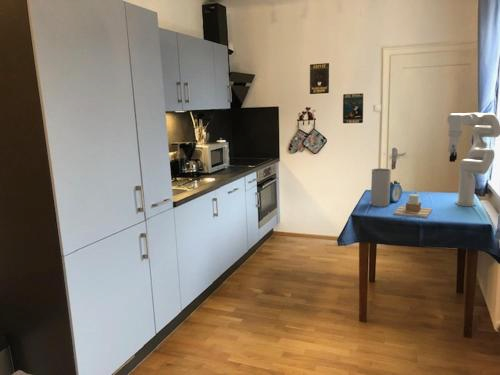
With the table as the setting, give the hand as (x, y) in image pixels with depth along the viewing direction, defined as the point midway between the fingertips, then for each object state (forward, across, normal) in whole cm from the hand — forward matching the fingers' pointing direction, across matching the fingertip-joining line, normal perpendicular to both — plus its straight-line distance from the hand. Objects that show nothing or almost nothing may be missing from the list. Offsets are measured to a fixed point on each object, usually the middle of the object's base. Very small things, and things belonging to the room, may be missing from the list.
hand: (452, 160), depth 262 cm
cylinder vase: (+34, +4, -44) cm, 55 cm away
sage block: (+27, +14, -20) cm, 36 cm away
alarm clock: (+34, -9, -38) cm, 51 cm away
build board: (+33, +14, -20) cm, 41 cm away
